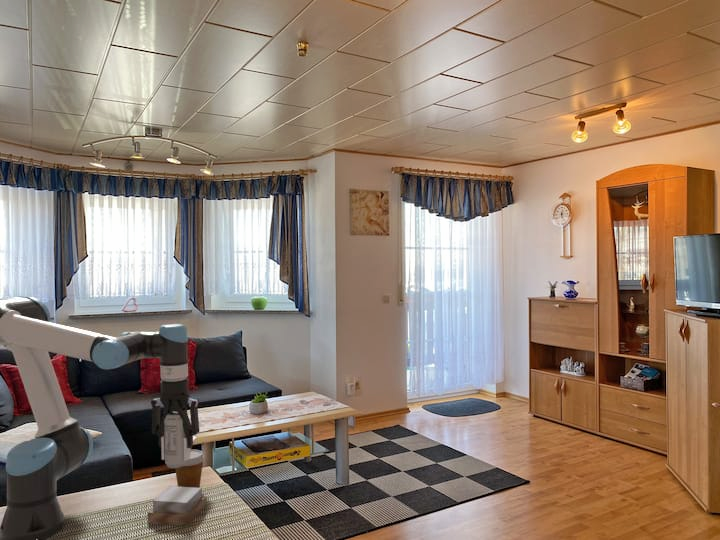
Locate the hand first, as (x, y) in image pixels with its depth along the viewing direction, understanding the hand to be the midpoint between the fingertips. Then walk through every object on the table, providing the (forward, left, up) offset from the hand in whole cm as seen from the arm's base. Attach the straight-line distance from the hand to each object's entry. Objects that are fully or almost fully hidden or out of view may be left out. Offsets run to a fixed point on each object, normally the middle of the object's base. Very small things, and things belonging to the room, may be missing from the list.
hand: (176, 458), depth 160 cm
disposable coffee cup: (-3, +15, -17) cm, 23 cm away
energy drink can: (0, 0, -2) cm, 2 cm away
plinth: (0, 0, -16) cm, 16 cm away
